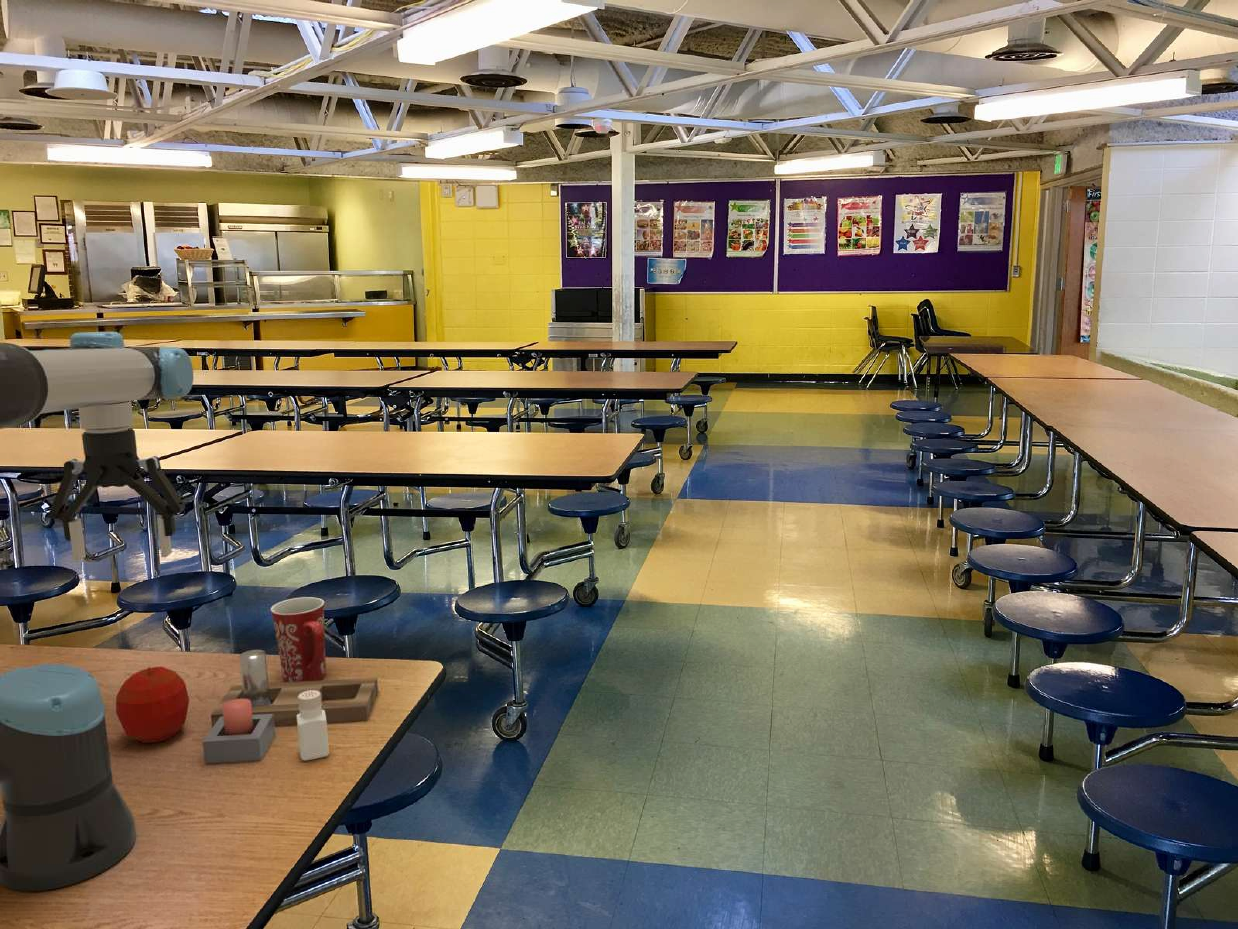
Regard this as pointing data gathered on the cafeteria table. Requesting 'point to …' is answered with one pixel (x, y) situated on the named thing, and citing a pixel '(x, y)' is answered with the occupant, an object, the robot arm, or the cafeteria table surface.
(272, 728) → the button housing
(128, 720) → the apple
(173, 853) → the cafeteria table surface
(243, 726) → the button
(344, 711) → the board
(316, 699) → the pepper shaker
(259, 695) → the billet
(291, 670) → the mug
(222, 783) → the cafeteria table surface
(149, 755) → the cafeteria table surface
